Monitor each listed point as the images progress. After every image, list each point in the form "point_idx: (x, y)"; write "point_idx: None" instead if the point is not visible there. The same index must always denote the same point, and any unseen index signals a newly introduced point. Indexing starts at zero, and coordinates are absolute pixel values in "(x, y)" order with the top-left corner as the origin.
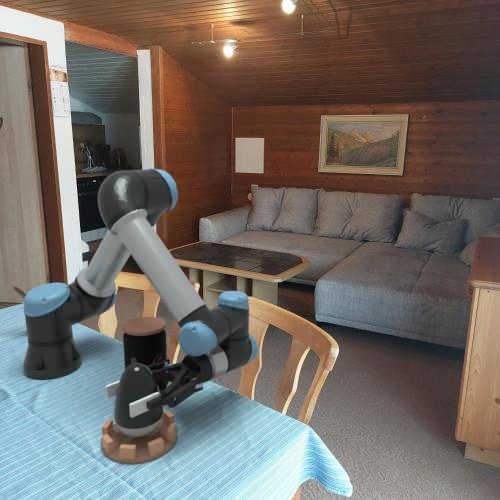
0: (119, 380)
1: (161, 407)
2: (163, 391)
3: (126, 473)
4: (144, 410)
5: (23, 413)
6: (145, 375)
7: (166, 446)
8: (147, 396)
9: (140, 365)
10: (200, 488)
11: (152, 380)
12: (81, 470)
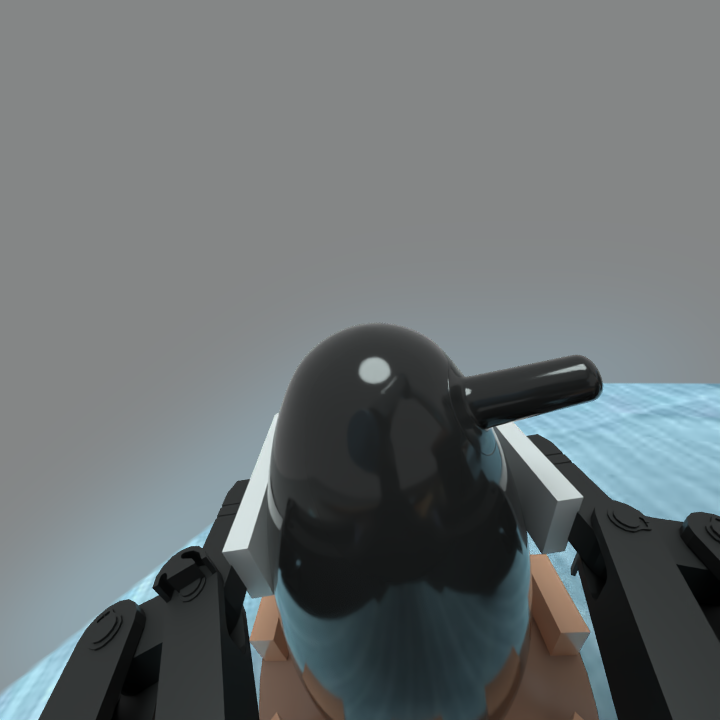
0: (510, 423)
1: (293, 660)
2: (173, 560)
3: None
4: None
5: (631, 402)
6: (283, 404)
7: (274, 695)
8: (265, 477)
9: (336, 344)
10: (49, 683)
11: (277, 486)
12: None
